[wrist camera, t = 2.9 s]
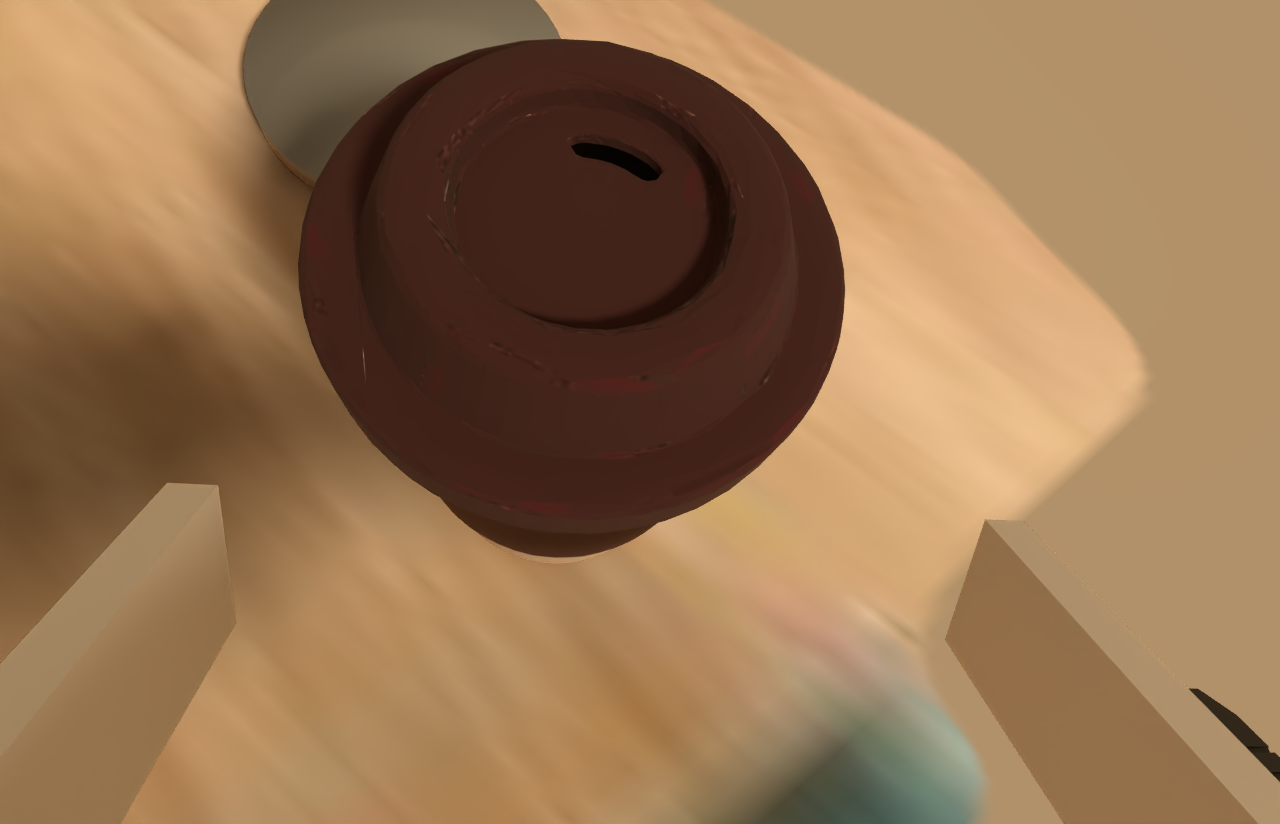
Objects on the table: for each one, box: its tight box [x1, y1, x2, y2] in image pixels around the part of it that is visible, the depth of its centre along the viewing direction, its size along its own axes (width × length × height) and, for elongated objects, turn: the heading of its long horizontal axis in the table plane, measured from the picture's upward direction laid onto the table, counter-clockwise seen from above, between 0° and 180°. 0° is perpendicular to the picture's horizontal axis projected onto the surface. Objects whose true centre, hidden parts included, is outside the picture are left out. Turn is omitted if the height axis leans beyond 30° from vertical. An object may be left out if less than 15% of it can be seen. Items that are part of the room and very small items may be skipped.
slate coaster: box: [243, 0, 561, 189], centre depth 30 cm, size 12×12×1 cm
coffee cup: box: [298, 39, 845, 563], centre depth 20 cm, size 10×10×15 cm
